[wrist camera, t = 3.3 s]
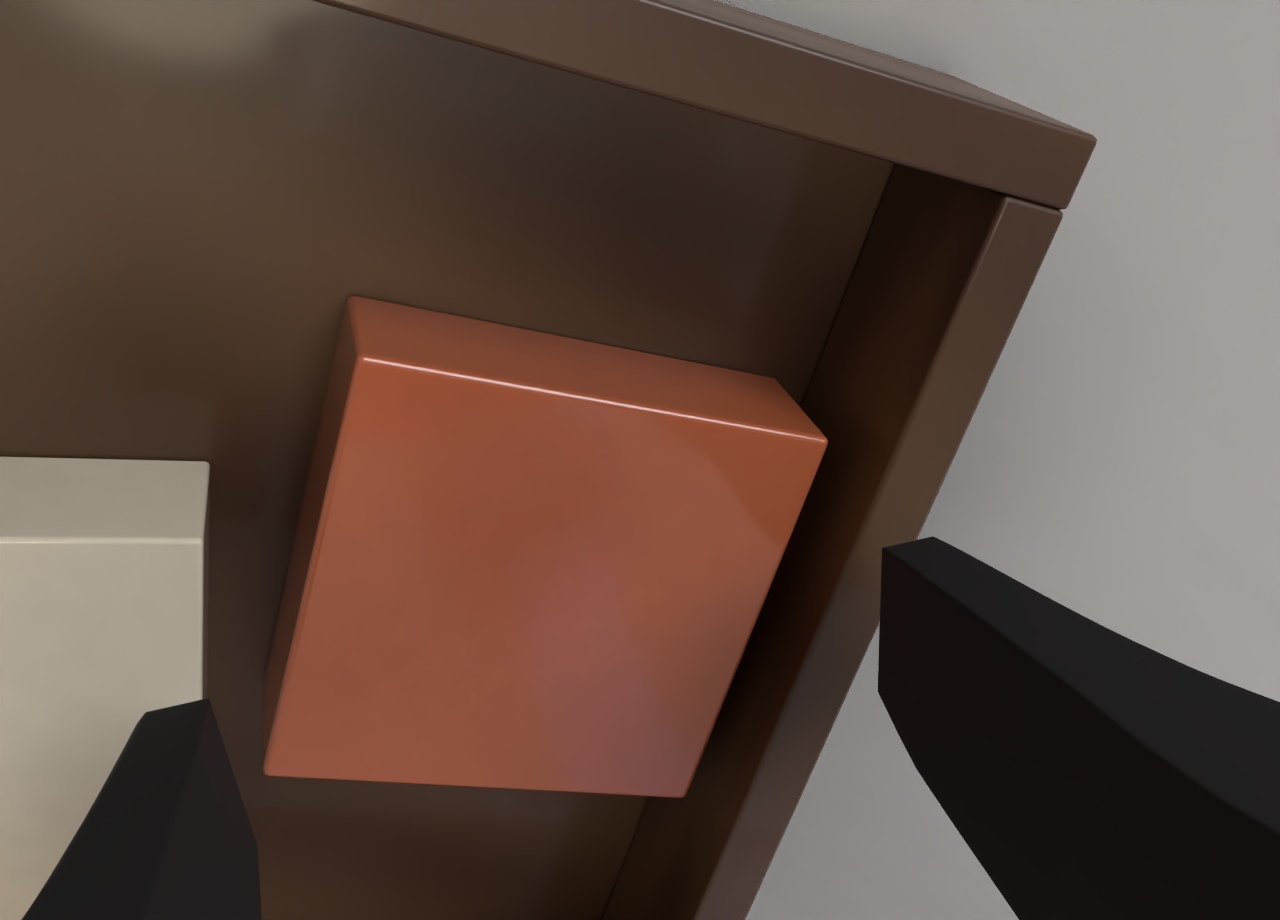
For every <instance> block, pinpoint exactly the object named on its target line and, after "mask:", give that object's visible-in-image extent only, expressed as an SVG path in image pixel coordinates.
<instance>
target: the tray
mask: <svg viewBox="0 0 1280 920" xmlns="http://www.w3.org/2000/svg"><path fill="white" fill-rule="evenodd" d="M1096 141H1097V139H1096V138H1095V137H1094V136H1093V135H1091V134H1089V133H1086V132H1084V131H1081V130H1079V129H1077V128H1074V127H1072V126H1070V125H1067V124H1065V123H1063V122H1060V121H1058V120H1055V119H1053V118H1051V117H1048V116H1046V115H1044V114H1041V113H1039V112H1037V111H1034V110H1032V109H1029V108H1027V107H1025V106H1022V105H1020V104H1018V103H1015V102H1013V101H1011V100H1008V99H1006V98H1003V97H1001V96H999V95H996V94H994V93H992V92H989V91H987V90H985V89H982V88H979V87H977V86H975V85H973V84H970V83H968V82H966V81H963V80H961V79H958V78H956V77H954V76H951V75H948V74H945V73H942V72H939V71H936V70H932V69H929V68H926V67H923V66H920V65H917V64H913V63H910V62H907V61H904V60H901V59H898V58H894V57H891V56H888V55H885V54H882V53H879V52H875V51H872V50H869V49H866V48H863V47H860V46H857V45H853V44H850V43H847V42H844V41H841V40H838V39H834V38H831V37H828V36H825V35H822V34H819V33H815V32H812V31H809V30H806V29H803V28H800V27H796V26H793V25H790V24H787V23H784V22H781V21H777V20H774V19H771V18H768V17H765V16H762V15H759V14H755V13H752V12H749V11H746V10H743V9H740V8H736V7H733V6H730V5H727V4H724V3H721V2H717V1H714V0H0V456H4V457H46V458H88V459H131V460H173V461H206V462H208V463H209V465H210V543H209V635H208V698H209V700H210V703H211V706H212V709H213V712H214V715H215V718H216V721H217V724H218V727H219V730H220V733H221V736H222V739H223V742H224V745H225V748H226V751H227V754H228V757H229V760H230V763H231V767H232V770H233V773H234V776H235V779H236V782H237V785H238V788H239V791H240V794H241V797H242V800H243V803H244V806H245V809H246V812H247V815H248V818H249V821H250V824H251V827H252V830H253V833H254V836H255V839H256V842H257V849H258V864H259V879H260V893H261V912H262V920H745V919H746V916H747V914H748V912H749V910H750V908H751V905H752V903H753V901H754V899H755V896H756V894H757V892H758V890H759V888H760V885H761V883H762V881H763V879H764V877H765V874H766V872H767V870H768V868H769V865H770V863H771V861H772V859H773V857H774V854H775V852H776V850H777V848H778V846H779V843H780V841H781V839H782V837H783V835H784V832H785V830H786V828H787V826H788V823H789V821H790V819H791V817H792V815H793V812H794V810H795V808H796V806H797V804H798V801H799V799H800V797H801V795H802V792H803V790H804V788H805V786H806V784H807V781H808V779H809V777H810V775H811V773H812V770H813V768H814V766H815V764H816V762H817V759H818V757H819V755H820V753H821V750H822V748H823V746H824V744H825V742H826V739H827V737H828V735H829V733H830V731H831V728H832V726H833V724H834V722H835V719H836V717H837V715H838V713H839V711H840V708H841V706H842V704H843V702H844V700H845V697H846V695H847V693H848V691H849V688H850V686H851V684H852V682H853V680H854V677H855V675H856V673H857V671H858V669H859V666H860V664H861V662H862V660H863V658H864V655H865V653H866V651H867V649H868V646H869V644H870V642H871V640H872V638H873V635H874V633H875V631H876V629H877V627H878V624H879V622H880V598H881V562H882V548H884V547H888V546H893V545H897V544H902V543H906V542H911V541H915V540H917V538H918V536H919V534H920V531H921V529H922V527H923V525H924V523H925V520H926V518H927V516H928V514H929V512H930V509H931V507H932V505H933V503H934V500H935V498H936V496H937V494H938V492H939V489H940V487H941V485H942V483H943V481H944V478H945V476H946V474H947V472H948V469H949V467H950V465H951V463H952V461H953V458H954V456H955V454H956V452H957V450H958V447H959V445H960V443H961V441H962V438H963V436H964V434H965V432H966V430H967V427H968V425H969V423H970V421H971V419H972V416H973V414H974V412H975V410H976V408H977V405H978V403H979V401H980V399H981V396H982V394H983V392H984V390H985V388H986V385H987V383H988V381H989V379H990V377H991V374H992V372H993V370H994V368H995V365H996V363H997V361H998V359H999V357H1000V354H1001V352H1002V350H1003V348H1004V346H1005V343H1006V341H1007V339H1008V337H1009V335H1010V332H1011V330H1012V328H1013V326H1014V323H1015V321H1016V319H1017V317H1018V315H1019V312H1020V310H1021V308H1022V306H1023V304H1024V301H1025V299H1026V297H1027V295H1028V292H1029V290H1030V288H1031V286H1032V284H1033V281H1034V279H1035V277H1036V275H1037V273H1038V270H1039V268H1040V266H1041V264H1042V262H1043V259H1044V257H1045V255H1046V253H1047V250H1048V248H1049V246H1050V244H1051V242H1052V239H1053V237H1054V235H1055V233H1056V231H1057V228H1058V226H1059V224H1060V222H1061V219H1062V215H1063V213H1062V212H1061V211H1060V210H1059V209H1066V208H1067V207H1068V205H1069V203H1070V200H1071V198H1072V196H1073V194H1074V192H1075V189H1076V187H1077V185H1078V183H1079V180H1080V178H1081V176H1082V174H1083V172H1084V169H1085V167H1086V165H1087V163H1088V161H1089V158H1090V156H1091V154H1092V152H1093V150H1094V147H1095V145H1096ZM350 296H358V297H363V298H368V299H373V300H378V301H384V302H389V303H394V304H399V305H404V306H409V307H414V308H419V309H424V310H429V311H435V312H440V313H445V314H450V315H455V316H460V317H465V318H470V319H475V320H481V321H486V322H491V323H496V324H501V325H506V326H511V327H516V328H521V329H526V330H532V331H537V332H542V333H547V334H552V335H557V336H562V337H567V338H572V339H577V340H583V341H588V342H593V343H598V344H603V345H608V346H613V347H618V348H623V349H629V350H634V351H639V352H644V353H649V354H654V355H659V356H664V357H669V358H674V359H680V360H685V361H690V362H695V363H700V364H705V365H710V366H715V367H720V368H726V369H731V370H736V371H741V372H746V373H751V374H756V375H761V376H766V377H771V378H775V379H776V380H778V381H779V382H780V384H781V385H782V386H783V387H784V388H785V389H786V391H787V392H788V393H789V394H790V395H791V396H792V398H793V399H794V400H795V401H796V402H797V403H798V405H799V406H800V407H801V408H802V409H803V410H804V412H805V413H806V414H807V415H808V416H809V417H810V419H811V420H812V421H813V422H814V423H815V424H816V425H817V427H818V428H819V429H820V430H821V431H822V432H823V434H824V435H825V436H826V437H827V439H828V445H827V447H826V450H825V452H824V455H823V457H822V460H821V462H820V465H819V467H818V470H817V472H816V475H815V477H814V480H813V482H812V485H811V487H810V490H809V492H808V495H807V497H806V499H805V502H804V504H803V507H802V509H801V512H800V514H799V517H798V519H797V522H796V524H795V527H794V529H793V532H792V534H791V537H790V539H789V542H788V544H787V547H786V549H785V551H784V554H783V556H782V559H781V561H780V564H779V566H778V569H777V571H776V574H775V576H774V579H773V581H772V584H771V586H770V589H769V591H768V594H767V596H766V599H765V601H764V603H763V606H762V608H761V611H760V613H759V616H758V618H757V621H756V623H755V626H754V628H753V631H752V633H751V636H750V638H749V641H748V643H747V646H746V648H745V651H744V653H743V655H742V658H741V660H740V663H739V665H738V668H737V670H736V673H735V675H734V678H733V680H732V683H731V685H730V688H729V690H728V693H727V695H726V698H725V700H724V703H723V705H722V707H721V710H720V712H719V715H718V717H717V720H716V722H715V725H714V727H713V730H712V732H711V735H710V737H709V740H708V742H707V745H706V747H705V750H704V752H703V755H702V757H701V759H700V762H699V764H698V767H697V769H696V772H695V774H694V777H693V779H692V782H691V784H690V787H689V789H688V792H687V794H686V796H685V797H683V798H663V797H644V796H625V795H606V794H588V793H569V792H550V791H531V790H512V789H493V788H474V787H455V786H437V785H418V784H399V783H380V782H361V781H342V780H323V779H304V778H286V777H269V776H266V775H265V774H264V771H263V681H264V676H265V672H266V667H267V663H268V658H269V653H270V649H271V644H272V640H273V635H274V630H275V626H276V621H277V617H278V612H279V607H280V603H281V598H282V594H283V589H284V584H285V580H286V575H287V570H288V566H289V561H290V557H291V552H292V547H293V543H294V538H295V534H296V529H297V524H298V520H299V515H300V511H301V506H302V501H303V497H304V492H305V488H306V483H307V478H308V474H309V469H310V464H311V460H312V455H313V451H314V446H315V441H316V437H317V432H318V428H319V423H320V418H321V414H322V409H323V405H324V400H325V395H326V391H327V386H328V382H329V377H330V372H331V368H332V363H333V358H334V354H335V349H336V345H337V340H338V335H339V331H340V326H341V322H342V317H343V312H344V308H345V303H346V301H347V299H348V298H349V297H350Z"/></svg>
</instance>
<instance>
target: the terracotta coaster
mask: <svg viewBox="0 0 1280 920" xmlns="http://www.w3.org/2000/svg"><path fill="white" fill-rule="evenodd" d="M827 445H828V439H827V437H826V436H825V435H824V434H823V432H822V431H821V430H820V429H819V428H818V427H817V425H816V424H815V423H814V422H813V421H812V420H811V419H810V417H809V416H808V415H807V414H806V413H805V412H804V410H803V409H802V408H801V407H800V406H799V405H798V403H797V402H796V401H795V400H794V399H793V398H792V396H791V395H790V394H789V393H788V392H787V391H786V389H785V388H784V387H783V386H782V385H781V384H780V382H779V381H778V380H776V379H775V378H771V377H766V376H761V375H756V374H751V373H746V372H741V371H736V370H731V369H726V368H720V367H715V366H710V365H705V364H700V363H695V362H690V361H685V360H680V359H674V358H669V357H664V356H659V355H654V354H649V353H644V352H639V351H634V350H629V349H623V348H618V347H613V346H608V345H603V344H598V343H593V342H588V341H583V340H577V339H572V338H567V337H562V336H557V335H552V334H547V333H542V332H537V331H532V330H526V329H521V328H516V327H511V326H506V325H501V324H496V323H491V322H486V321H481V320H475V319H470V318H465V317H460V316H455V315H450V314H445V313H440V312H435V311H429V310H424V309H419V308H414V307H409V306H404V305H399V304H394V303H389V302H384V301H378V300H373V299H368V298H363V297H358V296H350V297H349V298H348V299H347V301H346V303H345V308H344V312H343V317H342V322H341V326H340V331H339V335H338V340H337V345H336V349H335V354H334V358H333V363H332V368H331V372H330V377H329V382H328V386H327V391H326V395H325V400H324V405H323V409H322V414H321V418H320V423H319V428H318V432H317V437H316V441H315V446H314V451H313V455H312V460H311V464H310V469H309V474H308V478H307V483H306V488H305V492H304V497H303V501H302V506H301V511H300V515H299V520H298V524H297V529H296V534H295V538H294V543H293V547H292V552H291V557H290V561H289V566H288V570H287V575H286V580H285V584H284V589H283V594H282V598H281V603H280V607H279V612H278V617H277V621H276V626H275V630H274V635H273V640H272V644H271V649H270V653H269V658H268V663H267V667H266V672H265V676H264V681H263V771H264V774H265V775H266V776H269V777H286V778H304V779H323V780H342V781H361V782H380V783H399V784H418V785H437V786H455V787H474V788H493V789H512V790H531V791H550V792H569V793H588V794H606V795H625V796H644V797H663V798H683V797H685V796H686V794H687V792H688V789H689V787H690V784H691V782H692V779H693V777H694V774H695V772H696V769H697V767H698V764H699V762H700V759H701V757H702V755H703V752H704V750H705V747H706V745H707V742H708V740H709V737H710V735H711V732H712V730H713V727H714V725H715V722H716V720H717V717H718V715H719V712H720V710H721V707H722V705H723V703H724V700H725V698H726V695H727V693H728V690H729V688H730V685H731V683H732V680H733V678H734V675H735V673H736V670H737V668H738V665H739V663H740V660H741V658H742V655H743V653H744V651H745V648H746V646H747V643H748V641H749V638H750V636H751V633H752V631H753V628H754V626H755V623H756V621H757V618H758V616H759V613H760V611H761V608H762V606H763V603H764V601H765V599H766V596H767V594H768V591H769V589H770V586H771V584H772V581H773V579H774V576H775V574H776V571H777V569H778V566H779V564H780V561H781V559H782V556H783V554H784V551H785V549H786V547H787V544H788V542H789V539H790V537H791V534H792V532H793V529H794V527H795V524H796V522H797V519H798V517H799V514H800V512H801V509H802V507H803V504H804V502H805V499H806V497H807V495H808V492H809V490H810V487H811V485H812V482H813V480H814V477H815V475H816V472H817V470H818V467H819V465H820V462H821V460H822V457H823V455H824V452H825V450H826V447H827Z"/></svg>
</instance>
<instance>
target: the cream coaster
mask: <svg viewBox="0 0 1280 920" xmlns="http://www.w3.org/2000/svg"><path fill="white" fill-rule="evenodd" d="M209 543H210V465H209V463H208V462H206V461H173V460H131V459H88V458H46V457H4V456H0V920H22V918H23V917H24V915H25V914H26V912H27V911H28V909H29V908H30V906H31V905H32V903H33V902H34V900H35V899H36V897H37V896H38V894H39V893H40V891H41V890H42V888H43V886H44V885H45V883H46V882H47V880H48V879H49V877H50V875H51V874H52V872H53V870H54V869H55V867H56V865H57V864H58V862H59V860H60V859H61V857H62V855H63V854H64V852H65V850H66V849H67V847H68V845H69V844H70V842H71V841H72V839H73V837H74V836H75V834H76V832H77V831H78V829H79V827H80V826H81V824H82V822H83V821H84V819H85V817H86V815H87V814H88V812H89V810H90V808H91V807H92V805H93V803H94V801H95V799H96V798H97V796H98V794H99V792H100V791H101V789H102V787H103V785H104V783H105V782H106V780H107V778H108V776H109V774H110V773H111V771H112V769H113V767H114V765H115V763H116V761H117V760H118V758H119V756H120V754H121V752H122V750H123V748H124V747H125V745H126V743H127V741H128V739H129V737H130V735H131V733H132V732H133V730H134V728H135V726H136V724H137V723H138V721H139V720H140V719H141V717H142V716H143V715H144V714H145V712H148V711H153V710H157V709H162V708H166V707H171V706H175V705H180V704H184V703H189V702H193V701H198V700H202V699H207V698H208V635H209Z"/></svg>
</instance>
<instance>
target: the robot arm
mask: <svg viewBox="0 0 1280 920" xmlns="http://www.w3.org/2000/svg"><path fill="white" fill-rule="evenodd" d="M878 693H879V695H880V697H881V699H882V701H883V703H884V705H885V707H886V709H887V711H888V713H889V715H890V718H891V720H892V722H893V724H894V726H895V728H896V730H897V732H898V734H899V736H900V738H901V740H902V742H903V744H904V746H905V748H906V750H907V751H908V753H909V755H910V757H911V759H912V761H913V763H914V765H915V767H916V769H917V770H918V772H919V773H920V775H921V776H922V778H923V779H924V781H925V782H926V784H927V785H928V787H929V788H930V790H931V791H932V793H933V794H934V796H935V797H936V799H937V800H938V802H939V803H940V805H941V806H942V808H943V809H944V811H945V812H946V814H947V815H948V817H949V818H950V819H951V821H952V822H953V824H954V825H955V827H956V828H957V830H958V831H959V833H960V834H961V836H962V837H963V839H964V840H965V841H966V843H967V844H968V846H969V847H970V849H971V850H972V852H973V853H974V855H975V856H976V857H977V859H978V860H979V862H980V863H981V865H982V866H983V868H984V869H985V871H986V872H987V873H988V875H989V876H990V878H991V879H992V881H993V882H994V884H995V885H996V887H997V888H998V889H999V891H1000V892H1001V894H1002V895H1003V897H1004V898H1005V900H1006V901H1007V903H1008V904H1009V905H1010V907H1011V908H1012V910H1013V911H1014V913H1015V914H1016V916H1017V917H1018V919H1019V920H1280V702H1277V701H1275V700H1272V699H1270V698H1267V697H1264V696H1262V695H1259V694H1256V693H1254V692H1251V691H1248V690H1246V689H1243V688H1241V687H1238V686H1235V685H1233V684H1230V683H1227V682H1225V681H1222V680H1220V679H1217V678H1215V677H1212V676H1210V675H1208V674H1205V673H1203V672H1200V671H1198V670H1196V669H1193V668H1191V667H1189V666H1186V665H1184V664H1182V663H1180V662H1178V661H1175V660H1173V659H1171V658H1169V657H1167V656H1165V655H1162V654H1160V653H1158V652H1156V651H1154V650H1151V649H1149V648H1147V647H1145V646H1143V645H1140V644H1138V643H1136V642H1134V641H1132V640H1130V639H1128V638H1126V637H1124V636H1122V635H1120V634H1118V633H1116V632H1114V631H1112V630H1109V629H1107V628H1105V627H1103V626H1101V625H1099V624H1098V623H1096V622H1094V621H1092V620H1090V619H1088V618H1086V617H1084V616H1082V615H1080V614H1078V613H1076V612H1074V611H1072V610H1070V609H1068V608H1067V607H1065V606H1063V605H1061V604H1059V603H1057V602H1055V601H1053V600H1051V599H1050V598H1048V597H1046V596H1044V595H1042V594H1040V593H1038V592H1037V591H1035V590H1033V589H1031V588H1029V587H1027V586H1026V585H1024V584H1022V583H1020V582H1018V581H1016V580H1015V579H1013V578H1011V577H1009V576H1007V575H1005V574H1004V573H1002V572H1000V571H998V570H996V569H994V568H993V567H991V566H989V565H987V564H985V563H983V562H982V561H980V560H978V559H976V558H974V557H972V556H970V555H969V554H967V553H965V552H963V551H961V550H959V549H957V548H955V547H953V546H951V545H949V544H947V543H945V542H943V541H941V540H939V539H937V538H935V537H929V538H924V539H920V540H915V541H911V542H906V543H902V544H897V545H893V546H888V547H884V548H882V562H881V598H880V635H879V671H878ZM22 920H262V912H261V893H260V879H259V864H258V849H257V842H256V839H255V836H254V833H253V830H252V827H251V824H250V821H249V818H248V815H247V812H246V809H245V806H244V803H243V800H242V797H241V794H240V791H239V788H238V785H237V782H236V779H235V776H234V773H233V770H232V767H231V763H230V760H229V757H228V754H227V751H226V748H225V745H224V742H223V739H222V736H221V733H220V730H219V727H218V724H217V721H216V718H215V715H214V712H213V709H212V706H211V703H210V700H209V698H207V699H202V700H198V701H193V702H189V703H184V704H180V705H175V706H171V707H166V708H162V709H157V710H153V711H148V712H145V714H144V715H143V716H142V717H141V719H140V720H139V721H138V723H137V724H136V726H135V728H134V730H133V732H132V733H131V735H130V737H129V739H128V741H127V743H126V745H125V747H124V748H123V750H122V752H121V754H120V756H119V758H118V760H117V761H116V763H115V765H114V767H113V769H112V771H111V773H110V774H109V776H108V778H107V780H106V782H105V783H104V785H103V787H102V789H101V791H100V792H99V794H98V796H97V798H96V799H95V801H94V803H93V805H92V807H91V808H90V810H89V812H88V814H87V815H86V817H85V819H84V821H83V822H82V824H81V826H80V827H79V829H78V831H77V832H76V834H75V836H74V837H73V839H72V841H71V842H70V844H69V845H68V847H67V849H66V850H65V852H64V854H63V855H62V857H61V859H60V860H59V862H58V864H57V865H56V867H55V869H54V870H53V872H52V874H51V875H50V877H49V879H48V880H47V882H46V883H45V885H44V886H43V888H42V890H41V891H40V893H39V894H38V896H37V897H36V899H35V900H34V902H33V903H32V905H31V906H30V908H29V909H28V911H27V912H26V914H25V915H24V917H23V918H22Z"/></svg>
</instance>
